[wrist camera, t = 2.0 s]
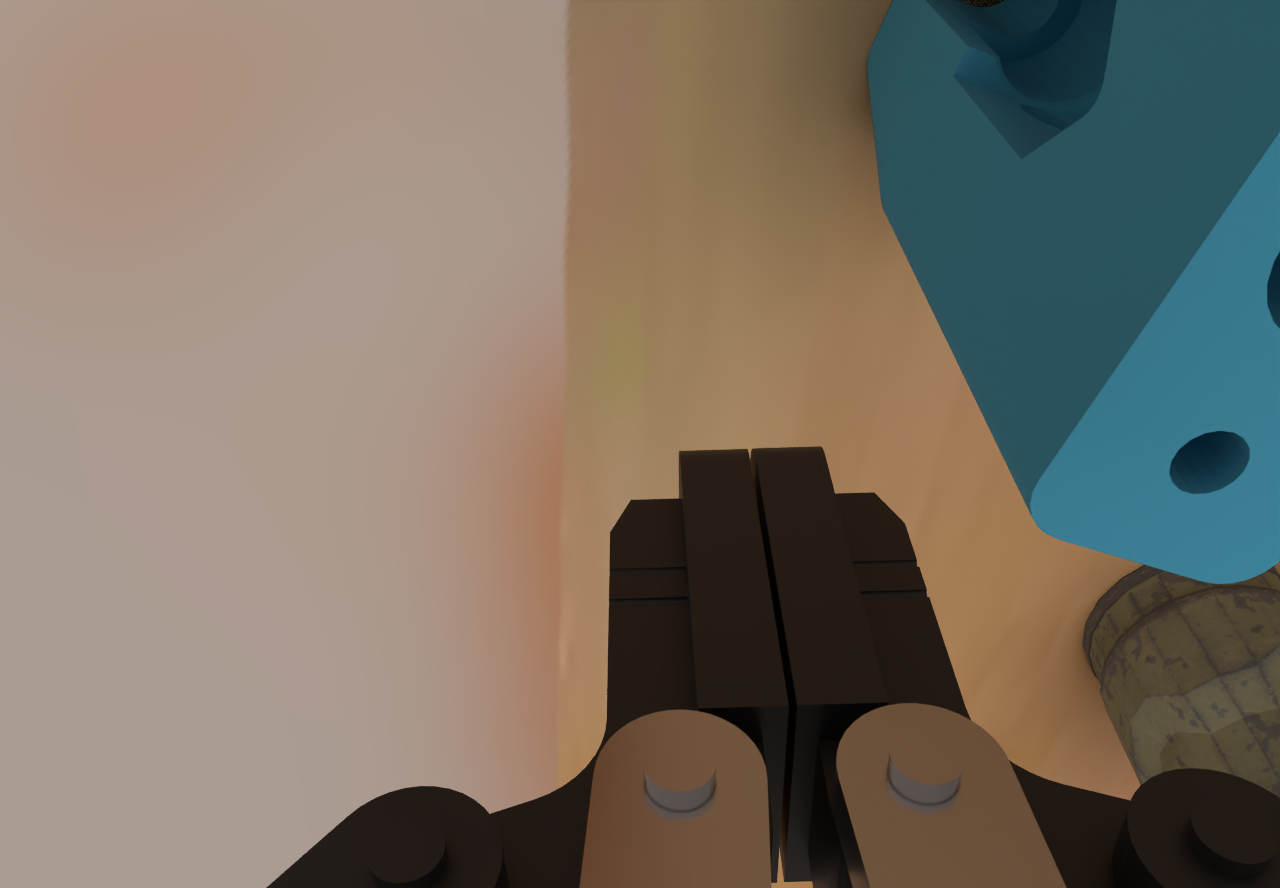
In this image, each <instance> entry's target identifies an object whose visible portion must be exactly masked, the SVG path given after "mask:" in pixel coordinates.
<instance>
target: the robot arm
mask: <svg viewBox="0 0 1280 888" xmlns="http://www.w3.org/2000/svg"><path fill="white" fill-rule="evenodd" d="M926 591H927V589H926V586H925V583H924V580H923V577H922V574H921V571H920V568H919V567H917V559H916V556H915V553H914V550H913V547H912V544H911V541H910V538H909V535H908V532H907V529H906V526H905V523H904V522H903V521H902V520H901V519H900V518H899V517H898V516H897V515H896V514H895V513H894V512H893V511H892V510H891V509H890V508H889V507H888V506H887V505H886V504H885V503H884V502H883V501H882V500H881V499H880V498H879V497H878V496H877V495H876V494H875V493H841V494H835V492H834V488H833V484H832V480H831V476H830V472H829V469H828V465H827V461H826V457H825V453H824V450H823V448H822V447H788V448H755V449H752V451H751V458H749V453H748V450H747V449H731V450H697V451H679V499H649V500H631V501H630V502H629V504H628V505H627V507H626V509H625V510H624V512H623V513H622V515H621V516H620V518H619V519H618V521H617V523H616V524H615V526H614V527H613V529H612V530H611V532H610V576H609V632H608V688H607V723H606V731H605V734H604V737H603V740H602V743H601V745H600V747H599V749H598V751H597V753H596V755H595V756H594V757H593V759H592V760H591V761H590V763H589V764H588V765H587V767H586V768H585V769H583V770H582V771H581V772H580V773H579V774H578V775H577V776H576V777H575V778H574V779H572V780H571V781H570V782H568V783H567V784H565V785H564V786H562V787H561V788H559V789H557V790H555V791H553V792H551V793H550V794H548V795H545V796H542V797H540V798H537V799H535V800H532V801H529V802H525V803H522V804H519V805H516V806H513V807H510V808H507V809H504V810H501V811H498V812H495V813H491V814H489V813H488V812H487V810H486V809H485V808H484V807H483V806H481V805H480V804H479V803H478V802H476V801H475V800H474V799H472V798H470V797H469V796H467V795H465V794H463V793H460V792H457V791H454V790H451V789H447V788H441V787H435V786H418V787H411V788H404V789H400V790H396V791H393V792H389V793H387V794H384V795H382V796H379V797H377V798H375V799H373V800H371V801H370V802H368V803H366V804H364V805H363V806H361V807H359V808H358V809H357V810H355V811H354V812H353V813H352V814H350V815H349V816H348V817H347V818H345V819H344V820H343V821H342V822H341V823H340V824H339V825H337V826H336V827H335V828H334V829H333V830H332V831H331V832H329V833H328V834H327V835H326V836H325V837H324V838H323V839H321V840H320V841H319V842H318V843H317V844H316V845H315V846H313V847H312V848H311V849H310V850H309V851H308V852H307V853H305V854H304V855H303V856H302V857H301V858H300V859H299V860H298V861H296V862H295V863H294V864H293V865H292V866H291V867H290V868H288V869H287V870H286V871H285V872H284V873H283V874H281V875H280V877H278V878H277V879H276V880H275V881H274V882H272V883H271V884H270V885H269V886H268V887H267V888H771V883H777V873H778V859H779V846H780V854H781V861H782V869H783V876H784V882H799V881H812V883H813V888H1280V797H1278V796H1276V795H1275V794H1273V793H1271V792H1270V791H1268V790H1266V789H1264V788H1263V787H1261V786H1259V785H1257V784H1255V783H1252V782H1250V781H1248V780H1246V779H1243V778H1241V777H1238V776H1234V775H1231V774H1228V773H1225V772H1220V771H1215V770H1210V769H1199V768H1185V769H1175V770H1170V771H1166V772H1162V773H1160V774H1158V775H1156V776H1153V777H1151V778H1150V779H1148V780H1147V781H1146V782H1144V783H1143V784H1142V785H1141V786H1140V787H1139V788H1138V789H1137V791H1136V792H1135V793H1134V795H1133V797H1132V799H1131V801H1130V800H1126V799H1121V798H1117V797H1113V796H1109V795H1105V794H1101V793H1097V792H1092V791H1088V790H1084V789H1080V788H1076V787H1072V786H1068V785H1064V784H1060V783H1057V782H1054V781H1050V780H1047V779H1044V778H1042V777H1040V776H1037V775H1035V774H1032V773H1030V772H1028V771H1026V770H1025V769H1023V768H1021V767H1019V766H1017V765H1015V764H1014V763H1012V762H1011V761H1010V760H1008V758H1007V756H1006V754H1005V752H1004V751H1003V749H1002V748H1001V747H1000V745H999V744H998V743H997V742H996V740H995V739H994V738H993V737H992V736H991V735H990V734H988V733H987V732H986V731H985V730H984V729H983V728H981V727H980V726H979V725H977V724H976V723H974V722H973V721H971V719H970V717H969V714H968V712H967V710H966V707H965V704H964V701H963V698H962V695H961V692H960V689H959V686H958V683H957V680H956V677H955V674H954V671H953V668H952V665H951V662H950V659H949V656H948V653H947V650H946V647H945V644H944V640H943V637H942V634H941V631H940V628H939V625H938V622H937V619H936V616H935V613H934V610H933V607H932V604H931V601H930V598H929V597H927V593H926Z"/></svg>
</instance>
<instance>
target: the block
mask: <svg viewBox="0 0 1280 888" xmlns="http://www.w3.org/2000/svg"><path fill="white" fill-rule="evenodd" d="M867 74H868V83H869V92H870V101H871V111H872V120H873V129H874V138H875V148H876V157H877V166H878V175H879V185H880V194H881V202H882V207H883V210H884V212H885V214H886V216H887V218H888V220H889V222H890V224H891V226H892V228H893V230H894V232H895V234H896V236H897V239H898V241H899V243H900V245H901V247H902V249H903V251H904V253H905V255H906V257H907V259H908V261H909V263H910V265H911V267H912V270H913V272H914V274H915V276H916V278H917V280H918V282H919V284H920V286H921V288H922V290H923V292H924V294H925V296H926V299H927V301H928V303H929V305H930V307H931V309H932V311H933V313H934V315H935V317H936V319H937V321H938V323H939V325H940V327H941V330H942V332H943V334H944V336H945V338H946V340H947V342H948V344H949V346H950V348H951V350H952V352H953V354H954V356H955V358H956V361H957V363H958V365H959V367H960V369H961V371H962V373H963V375H964V377H965V379H966V381H967V383H968V385H969V387H970V390H971V392H972V394H973V396H974V398H975V400H976V402H977V404H978V406H979V408H980V410H981V412H982V414H983V416H984V418H985V421H986V423H987V425H988V427H989V429H990V431H991V433H992V435H993V437H994V439H995V441H996V443H997V445H998V447H999V450H1000V452H1001V454H1002V456H1003V458H1004V460H1005V462H1006V464H1007V466H1008V468H1009V470H1010V472H1011V474H1012V476H1013V478H1014V481H1015V483H1016V485H1017V487H1018V489H1019V491H1020V493H1021V495H1022V497H1023V499H1024V501H1025V503H1026V505H1027V507H1028V510H1029V512H1030V514H1031V516H1032V518H1033V519H1034V521H1035V523H1036V525H1037V526H1038V527H1039V528H1040V529H1041V530H1042V531H1043V532H1045V533H1046V534H1047V535H1050V536H1052V537H1054V538H1056V539H1059V540H1062V541H1066V542H1069V543H1072V544H1076V545H1079V546H1083V547H1086V548H1090V549H1093V550H1096V551H1100V552H1103V553H1107V554H1110V555H1113V556H1117V557H1120V558H1124V559H1127V560H1131V561H1134V562H1137V563H1141V564H1144V565H1148V566H1151V567H1155V568H1158V569H1161V570H1165V571H1168V572H1172V573H1175V574H1178V575H1182V576H1185V577H1189V578H1192V579H1196V580H1199V581H1202V582H1208V583H1214V584H1229V583H1235V582H1240V581H1244V580H1248V579H1250V578H1253V577H1255V576H1257V575H1260V574H1262V573H1264V572H1265V571H1267V570H1268V569H1270V568H1272V567H1273V566H1275V565H1276V564H1277V563H1278V562H1279V561H1280V0H1004V1H1002V2H1001V3H999V4H997V5H994V6H991V7H977V6H973V5H970V4H968V3H965V2H963V1H960V0H893V1H892V4H891V6H890V8H889V10H888V12H887V14H886V17H885V19H884V21H883V23H882V25H881V27H880V30H879V32H878V34H877V36H876V38H875V40H874V43H873V45H872V47H871V49H870V52H869V55H868V58H867Z"/></svg>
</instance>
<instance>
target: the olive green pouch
mask: <svg viewBox="0 0 1280 888" xmlns="http://www.w3.org/2000/svg"><path fill="white" fill-rule="evenodd" d="M1083 647H1084V650H1085V653H1086V656H1087V659H1088V662H1089V665H1090V668H1091V670H1092V672H1093V674H1094V676H1095V677H1096V678H1097V679H1098V680H1099V682H1100V685H1101V688H1100V692H1101V695H1102V698H1103V701H1104V704H1105V707H1106V710H1107V713H1108V715H1109V717H1110V719H1111V722H1112V724H1113V726H1114V728H1115V730H1116V732H1117V734H1118V737H1119V739H1120V741H1121V743H1122V745H1123V747H1124V750H1125V752H1126V754H1127V756H1128V758H1129V760H1130V762H1131V765H1132V767H1133V769H1134V771H1135V773H1136V775H1137V778H1138V780H1139V782H1140V784H1141V785H1142V784H1143V783H1144V782H1146V781H1147V780H1148V779H1150V778H1151V777H1153V776H1156V775H1158V774H1160V773H1162V772H1166V771H1170V770H1175V769H1185V768H1199V769H1210V770H1215V771H1220V772H1225V773H1228V774H1231V775H1234V776H1238V777H1241V778H1243V779H1246V780H1248V781H1250V782H1252V783H1255V784H1257V785H1259V786H1261V787H1263V788H1264V789H1266V790H1268V791H1270V792H1271V793H1273V794H1275V795H1276V796H1278V797H1280V574H1279V573H1278V572H1277V571H1276V569H1275V568H1274V567H1272V568H1270V569H1268V570H1267V571H1265V572H1264V573H1262V574H1260V575H1257V576H1255V577H1253V578H1250V579H1248V580H1244V581H1240V582H1235V583H1229V584H1214V583H1208V582H1202V581H1199V580H1196V579H1192V578H1189V577H1185V576H1182V575H1178V574H1175V573H1172V572H1168V571H1165V570H1161V569H1158V568H1155V567H1151V566H1148V565H1145V566H1143V567H1141V568H1140V569H1138V570H1136V571H1134V572H1133V573H1131V574H1129V575H1127V576H1126V577H1124V578H1122V579H1121V580H1120V581H1119V582H1118V583H1117V584H1116V585H1115V586H1114V587H1112V588H1111V589H1110V590H1109V591H1108V592H1107V593H1106V594H1105V595H1104V596H1103V597H1102V598H1101V599H1100V600H1099V601H1098V603H1097V605H1096V607H1095V608H1094V610H1093V612H1092V614H1091V615H1090V617H1089V619H1088V620H1087V622H1086V627H1085V634H1084V641H1083Z"/></svg>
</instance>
